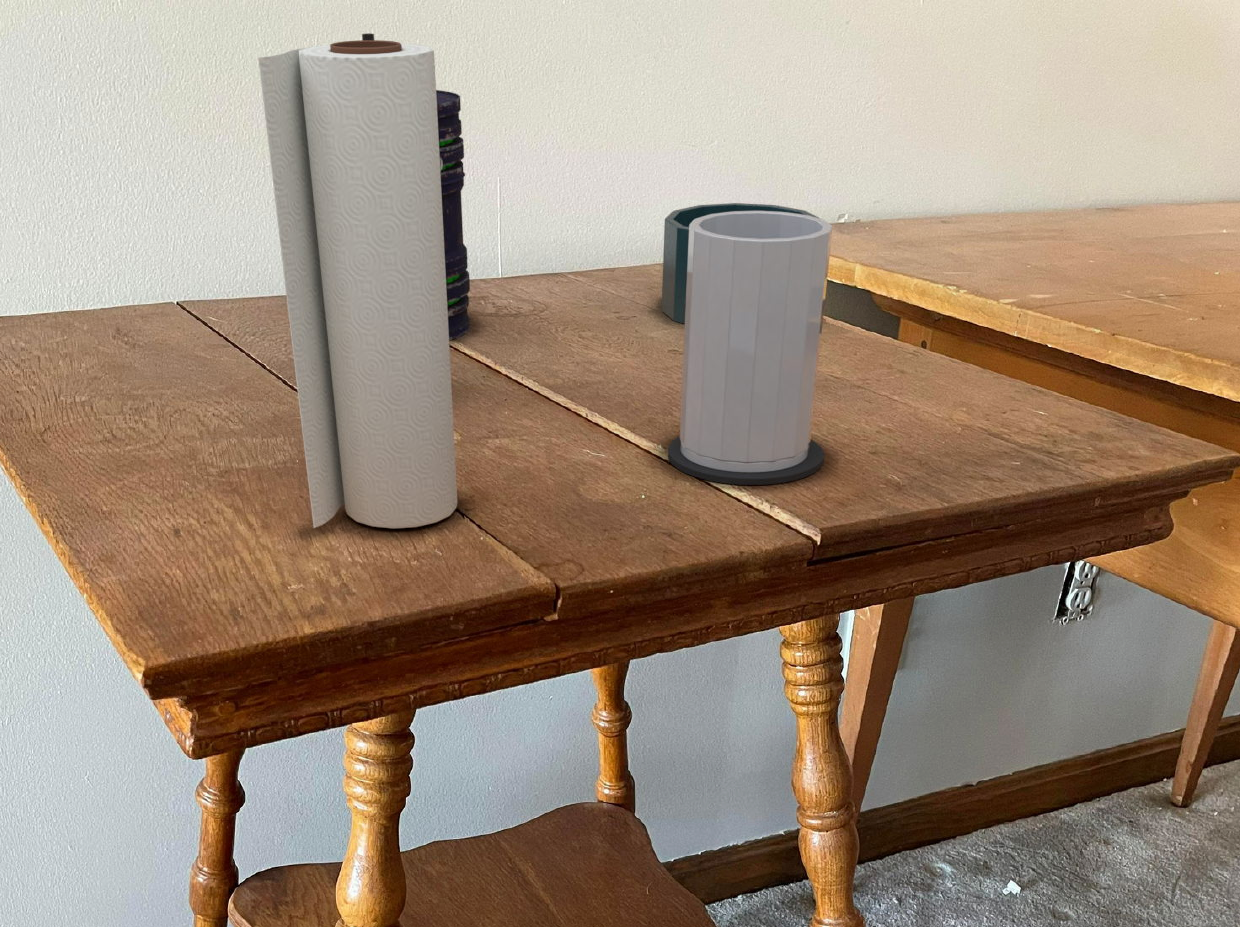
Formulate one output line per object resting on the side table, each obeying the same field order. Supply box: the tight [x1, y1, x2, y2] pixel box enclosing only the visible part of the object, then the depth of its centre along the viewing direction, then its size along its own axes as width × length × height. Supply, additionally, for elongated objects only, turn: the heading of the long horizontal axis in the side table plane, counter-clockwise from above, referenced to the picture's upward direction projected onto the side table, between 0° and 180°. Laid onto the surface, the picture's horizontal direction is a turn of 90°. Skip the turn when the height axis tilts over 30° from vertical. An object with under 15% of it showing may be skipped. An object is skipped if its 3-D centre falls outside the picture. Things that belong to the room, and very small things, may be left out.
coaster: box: [667, 435, 825, 486], centre depth 80 cm, size 9×9×1 cm
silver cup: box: [679, 211, 833, 473], centre depth 77 cm, size 7×7×12 cm
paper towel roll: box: [257, 39, 458, 529], centre depth 68 cm, size 7×6×21 cm
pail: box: [661, 202, 821, 325], centre depth 104 cm, size 11×11×6 cm
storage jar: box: [436, 89, 471, 341], centre depth 98 cm, size 10×10×15 cm
